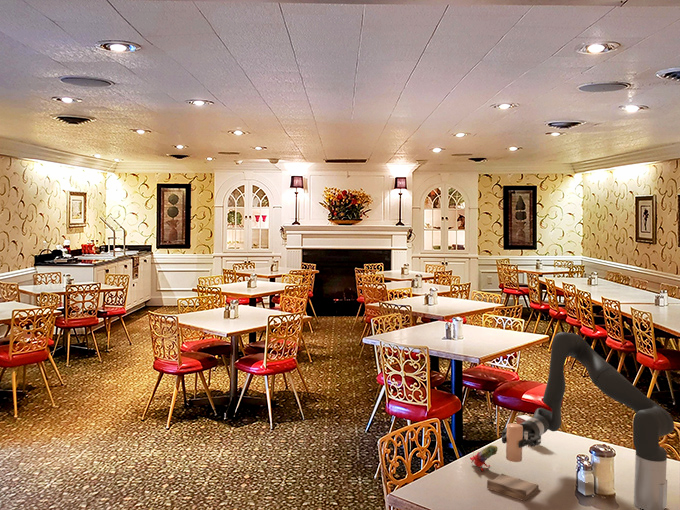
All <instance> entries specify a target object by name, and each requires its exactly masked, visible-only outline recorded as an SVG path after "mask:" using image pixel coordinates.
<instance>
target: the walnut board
mask: <svg viewBox="0 0 680 510" xmlns="http://www.w3.org/2000/svg"><path fill="white" fill-rule="evenodd" d="M486 481H487V483H486V489H487V488H489V489H488V490H490V489H492V490H491V491H493V490H494V491H493V492H497V493H499V494H503V495H506V496H509V497H512V498H515V497H516V498H515V499H518V498H519V499H518V500H521V499H522V501H524V500H525V501H526V500H528V499H529V498H530V497H531V496H532V495H534V494H535V493H536V492H537V491H538V490H539V484H537V483H533V482H530V481H528V480H523V479H520V478H517V477H513V476H510V475H507V474H504V473H501V474H499V475H498V476H496V477H495V478H494V479H487V480H486Z"/></svg>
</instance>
